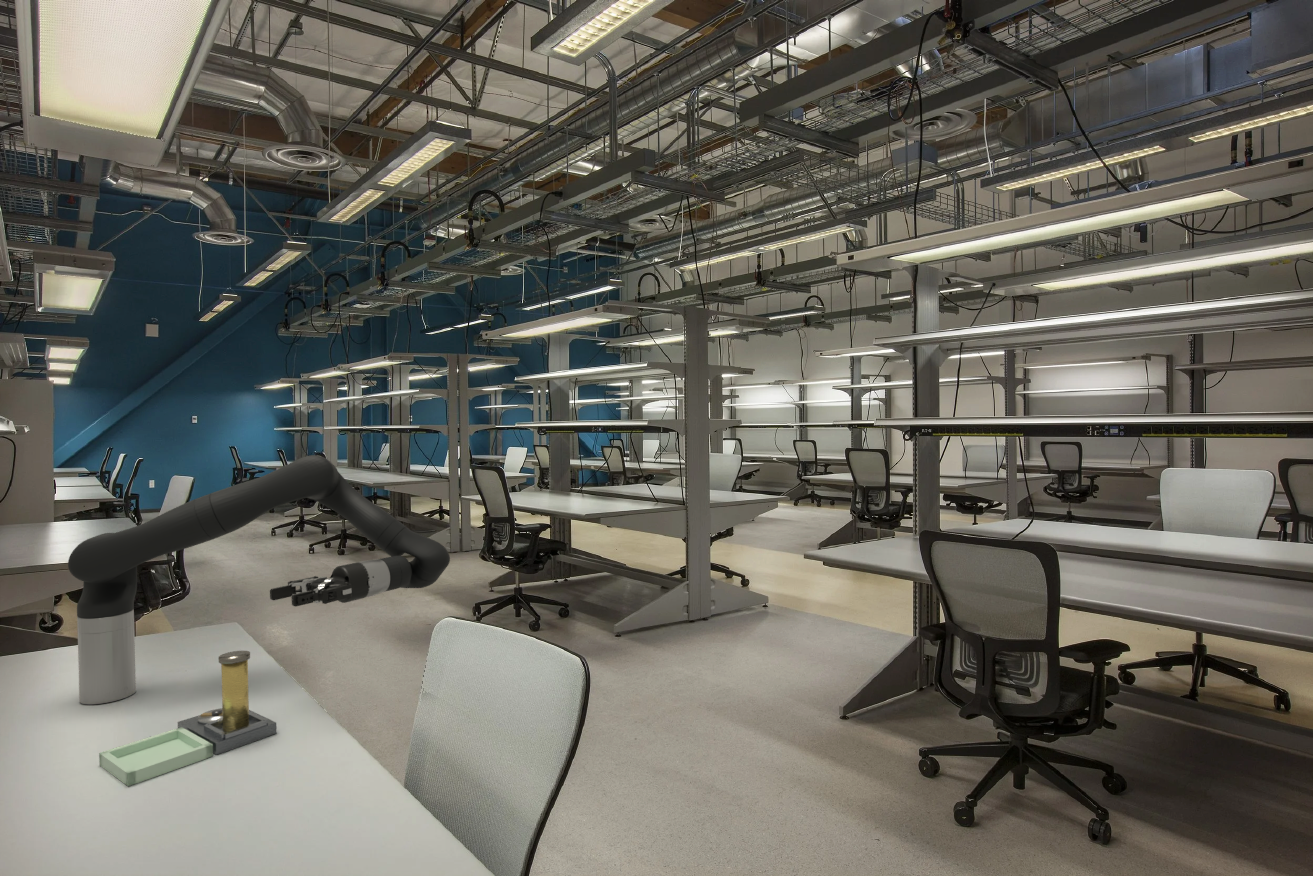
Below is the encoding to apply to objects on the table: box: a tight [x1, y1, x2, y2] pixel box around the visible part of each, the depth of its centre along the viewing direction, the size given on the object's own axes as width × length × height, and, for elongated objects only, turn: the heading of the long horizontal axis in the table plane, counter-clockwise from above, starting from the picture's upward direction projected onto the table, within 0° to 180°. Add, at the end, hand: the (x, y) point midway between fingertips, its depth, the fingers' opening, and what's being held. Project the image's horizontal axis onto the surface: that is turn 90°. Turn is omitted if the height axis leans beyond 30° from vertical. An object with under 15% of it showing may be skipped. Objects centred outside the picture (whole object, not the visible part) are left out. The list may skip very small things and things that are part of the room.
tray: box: [98, 727, 214, 787], centre depth 118 cm, size 12×12×2 cm
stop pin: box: [218, 650, 251, 732], centre depth 126 cm, size 5×5×13 cm
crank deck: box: [177, 708, 277, 756], centre depth 128 cm, size 15×10×3 cm, turn 55°
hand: (281, 598), depth 135 cm, fingers open, 8 cm apart
